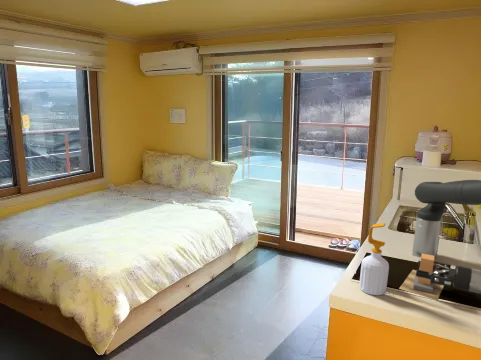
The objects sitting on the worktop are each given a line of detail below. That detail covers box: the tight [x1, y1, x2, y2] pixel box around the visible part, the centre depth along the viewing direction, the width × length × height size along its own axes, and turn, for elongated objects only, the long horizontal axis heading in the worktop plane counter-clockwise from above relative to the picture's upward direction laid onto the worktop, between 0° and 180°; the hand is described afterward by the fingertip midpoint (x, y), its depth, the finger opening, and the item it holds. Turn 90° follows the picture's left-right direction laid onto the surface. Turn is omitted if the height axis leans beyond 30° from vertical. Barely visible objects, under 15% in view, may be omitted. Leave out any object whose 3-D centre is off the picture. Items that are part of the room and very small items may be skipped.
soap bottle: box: [358, 222, 390, 296], centre depth 128 cm, size 9×9×25 cm
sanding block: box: [413, 253, 435, 293], centre depth 129 cm, size 9×6×11 cm, turn 152°
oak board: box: [398, 269, 444, 301], centre depth 133 cm, size 20×12×2 cm, turn 142°
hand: (416, 268), depth 129 cm, fingers open, 8 cm apart
